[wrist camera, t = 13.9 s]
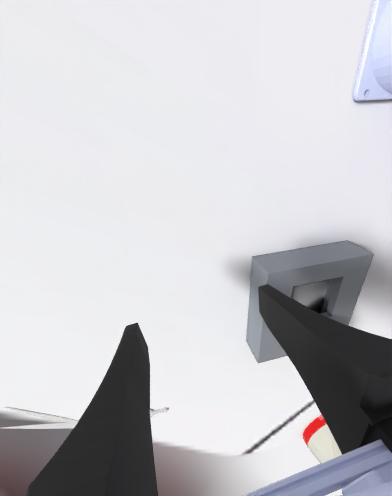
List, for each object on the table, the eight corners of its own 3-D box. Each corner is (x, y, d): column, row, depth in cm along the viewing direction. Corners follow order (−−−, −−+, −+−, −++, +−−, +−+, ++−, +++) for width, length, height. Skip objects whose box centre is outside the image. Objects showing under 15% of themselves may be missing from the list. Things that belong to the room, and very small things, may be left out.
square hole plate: (347, 240, 26) (373, 253, 24) (323, 322, 33) (342, 341, 30) (252, 256, 24) (268, 273, 21) (246, 340, 31) (257, 363, 28)
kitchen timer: (362, 419, 53) (435, 511, 40) (311, 447, 54) (366, 547, 41) (353, 396, 46) (437, 498, 33) (295, 429, 47) (355, 542, 34)
